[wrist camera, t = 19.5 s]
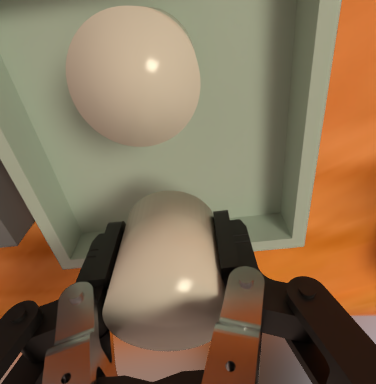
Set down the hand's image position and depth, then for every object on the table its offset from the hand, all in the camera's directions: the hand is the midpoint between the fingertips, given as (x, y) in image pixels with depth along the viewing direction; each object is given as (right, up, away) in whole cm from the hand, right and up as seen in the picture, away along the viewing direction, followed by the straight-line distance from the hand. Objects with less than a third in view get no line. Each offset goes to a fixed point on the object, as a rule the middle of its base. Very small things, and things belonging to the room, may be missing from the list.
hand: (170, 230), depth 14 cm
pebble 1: (-1, +8, 0) cm, 8 cm away
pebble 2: (0, 0, 0) cm, 0 cm away
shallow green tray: (-1, +6, +2) cm, 7 cm away
